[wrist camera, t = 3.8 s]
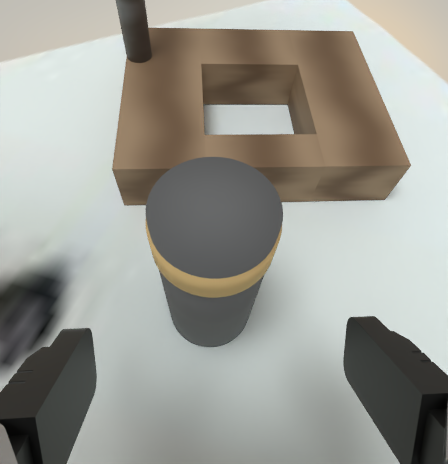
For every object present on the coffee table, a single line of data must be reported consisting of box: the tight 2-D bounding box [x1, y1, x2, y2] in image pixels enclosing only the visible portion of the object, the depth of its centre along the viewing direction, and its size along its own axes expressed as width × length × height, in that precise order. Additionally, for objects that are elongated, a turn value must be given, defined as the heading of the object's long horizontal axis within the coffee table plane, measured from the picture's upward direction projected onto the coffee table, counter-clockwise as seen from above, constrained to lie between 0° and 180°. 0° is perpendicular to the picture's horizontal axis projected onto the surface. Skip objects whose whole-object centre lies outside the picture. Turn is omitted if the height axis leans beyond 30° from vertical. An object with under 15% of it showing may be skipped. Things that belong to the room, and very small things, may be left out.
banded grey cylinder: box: [146, 157, 283, 347], centre depth 17 cm, size 5×5×11 cm
